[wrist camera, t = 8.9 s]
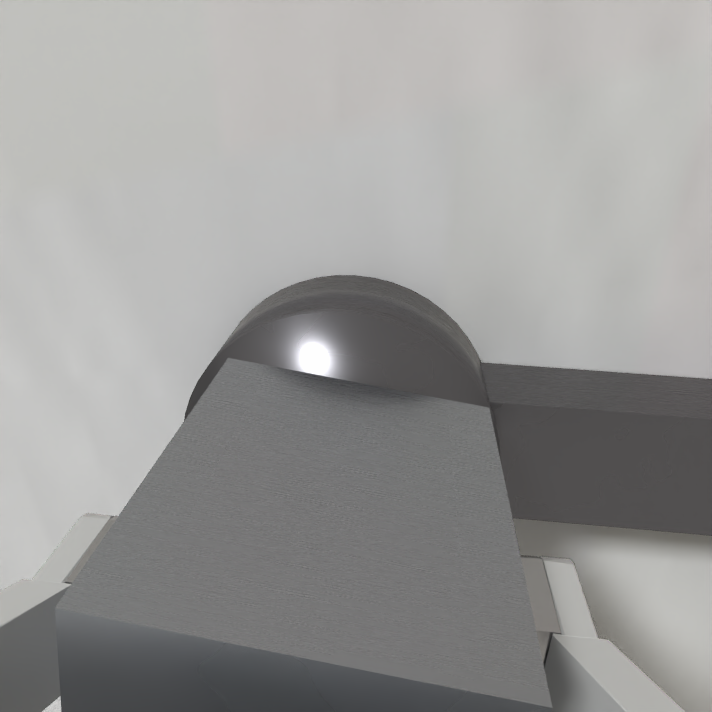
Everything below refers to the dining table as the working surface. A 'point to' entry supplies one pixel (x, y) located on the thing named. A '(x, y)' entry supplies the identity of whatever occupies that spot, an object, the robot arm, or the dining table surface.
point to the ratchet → (504, 403)
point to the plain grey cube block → (309, 562)
